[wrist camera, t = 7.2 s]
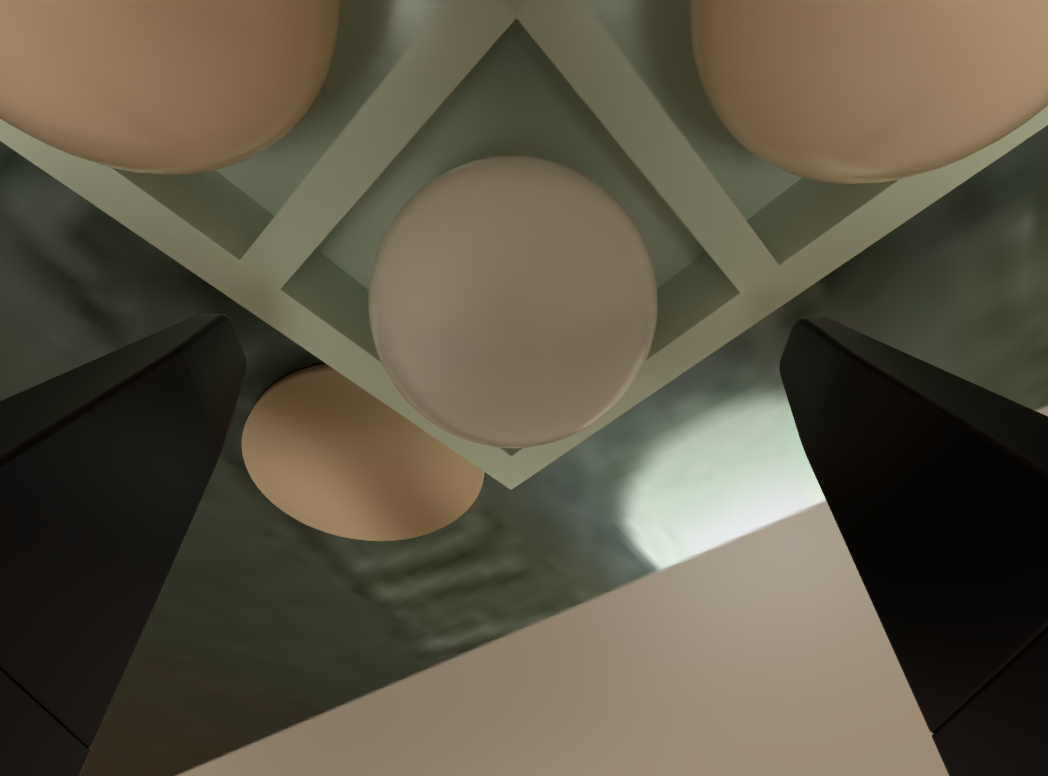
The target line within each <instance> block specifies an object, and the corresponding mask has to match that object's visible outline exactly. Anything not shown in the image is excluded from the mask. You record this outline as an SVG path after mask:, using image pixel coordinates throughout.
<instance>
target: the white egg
mask: <svg viewBox="0 0 1048 776" xmlns="http://www.w3.org/2000/svg"><path fill="white" fill-rule="evenodd" d="M368 305H369V319H370V327H371V331H372V336H373V340H374V343H375V346H376V350H377V353H378V355H379V357H380V360H381V362H382V365H383V367H384V369H385V370H386V372H387V374H388V375H389V377H390V379H391V381H392V382H393V384H394V385H395V387H396V388H397V389H398V391H399V392H400V393H401V395H402V396H403V397H404V398H405V400H406V401H407V402H408V403H409V404H410V405H411V406H412V407H413V408H414V409H416V410H417V411H418V412H419V413H420V414H421V415H423V416H424V417H425V418H426V419H428V420H429V421H430V422H432V423H433V424H435V425H436V426H438V427H439V428H441V429H443V430H444V431H446V432H449V433H451V434H453V435H455V436H457V437H460V438H463V439H465V440H468V441H471V442H474V443H478V444H482V445H487V446H493V447H500V448H527V447H534V446H541V445H545V444H549V443H553V442H556V441H559V440H562V439H564V438H567V437H569V436H572V435H574V434H576V433H578V432H580V431H582V430H584V429H586V428H587V427H589V426H591V425H592V424H594V423H595V422H597V421H598V420H599V419H601V418H602V417H603V416H604V415H606V414H607V413H608V412H609V411H610V410H611V409H612V408H613V407H614V406H615V405H616V404H617V403H618V402H619V401H620V400H621V399H622V398H623V397H624V395H625V394H626V393H627V392H628V390H629V389H630V388H631V386H632V385H633V383H634V382H635V380H636V378H637V376H638V375H639V373H640V371H641V369H642V367H643V366H644V363H645V361H646V359H647V356H648V354H649V351H650V348H651V344H652V340H653V337H654V332H655V328H656V321H657V312H658V302H657V282H656V277H655V271H654V266H653V263H652V260H651V257H650V254H649V251H648V249H647V246H646V243H645V240H644V239H643V237H642V235H641V233H640V231H639V229H638V227H637V226H636V224H635V223H634V221H633V220H632V218H631V217H630V216H629V214H628V213H627V212H626V210H625V209H624V208H623V206H622V205H621V204H620V203H619V202H618V201H617V200H616V199H615V198H614V197H613V196H612V195H611V194H610V193H609V192H608V191H607V190H606V189H604V188H603V187H602V186H600V185H599V184H598V183H596V182H595V181H593V180H592V179H590V178H589V177H587V176H585V175H584V174H582V173H580V172H578V171H576V170H574V169H572V168H570V167H568V166H565V165H562V164H560V163H557V162H554V161H551V160H546V159H541V158H537V157H530V156H517V155H510V156H494V157H489V158H484V159H479V160H475V161H472V162H469V163H466V164H463V165H460V166H457V167H455V168H453V169H451V170H449V171H447V172H445V173H443V174H441V175H440V176H438V177H437V178H435V179H434V180H433V181H431V182H430V183H428V184H427V185H425V186H424V187H423V188H421V189H420V190H419V191H418V192H417V193H416V194H415V195H414V196H413V197H411V198H410V199H409V200H408V201H407V202H406V203H405V205H404V206H403V207H402V208H401V210H400V211H399V212H398V214H397V215H396V216H395V218H394V219H393V221H392V222H391V224H390V226H389V228H388V229H387V231H386V233H385V235H384V236H383V238H382V240H381V243H380V245H379V248H378V250H377V253H376V256H375V259H374V264H373V268H372V273H371V277H370V282H369V296H368Z"/></svg>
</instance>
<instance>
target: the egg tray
mask: <svg viewBox="0 0 1048 776" xmlns="http://www.w3.org/2000/svg"><path fill="white" fill-rule="evenodd" d="M1047 125H1048V106H1047V107H1045V108H1044V109H1043V110H1042V111H1040V112H1039V113H1038V114H1037V115H1035V116H1034V117H1033V118H1031V119H1030V120H1029V121H1027V122H1026V123H1025V124H1023V125H1022V126H1020V127H1019V128H1017V129H1016V130H1014V131H1013V132H1011V133H1009V134H1008V135H1006V136H1005V137H1003V138H1002V139H1000V140H998V141H997V142H995V143H993V144H991V145H989V146H987V147H985V148H983V149H981V150H979V151H977V152H975V153H974V154H972V155H970V156H968V157H966V158H964V159H962V160H959V161H957V162H954V163H952V164H949V165H947V166H945V167H942V168H940V169H936V170H933V171H929V172H926V173H923V174H919V175H916V176H912V177H908V178H904V179H899V180H893V181H888V182H882V183H866V184H838V183H826V182H821V181H817V180H813V179H808V178H804V177H800V176H796V175H793V174H790V173H788V172H785V171H783V170H781V169H778V168H776V167H774V166H772V165H771V164H769V163H767V162H766V161H764V160H762V159H761V158H759V157H758V156H756V155H754V154H753V153H751V152H750V151H749V150H748V149H746V148H745V147H744V146H743V145H742V144H741V143H740V142H738V141H737V140H736V139H735V138H734V136H733V135H732V134H731V133H730V131H729V130H728V129H727V128H726V127H725V125H724V124H723V123H722V122H721V120H720V119H719V118H718V117H717V115H716V113H715V111H714V110H713V108H712V106H711V105H710V103H709V101H708V99H707V97H706V95H705V92H704V90H703V87H702V84H701V82H700V79H699V76H698V72H697V68H696V64H695V60H694V56H693V52H692V46H691V37H690V28H689V0H340V18H339V25H338V33H337V40H336V46H335V50H334V54H333V58H332V61H331V65H330V68H329V72H328V74H327V76H326V79H325V81H324V83H323V85H322V88H321V90H320V92H319V94H318V95H317V97H316V98H315V100H314V102H313V103H312V105H311V106H310V108H309V110H308V111H307V112H306V113H305V115H304V116H303V117H302V118H301V119H300V121H299V122H298V123H297V124H296V125H295V126H294V127H293V128H292V130H291V131H290V132H289V133H287V134H286V135H285V136H284V137H283V138H281V139H280V140H279V141H278V142H276V143H275V144H274V145H272V146H271V147H269V148H267V149H265V150H264V151H262V152H260V153H258V154H257V155H255V156H253V157H251V158H249V159H248V160H245V161H242V162H240V163H237V164H234V165H232V166H229V167H225V168H220V169H216V170H211V171H206V172H201V173H195V174H178V175H167V174H152V173H139V172H132V171H127V170H122V169H117V168H112V167H108V166H105V165H101V164H98V163H95V162H92V161H88V160H85V159H82V158H79V157H76V156H72V155H70V154H68V153H65V152H63V151H60V150H58V149H56V148H53V147H51V146H49V145H46V144H45V143H43V142H41V141H39V140H37V139H35V138H33V137H31V136H29V135H28V134H26V133H24V132H22V131H20V130H18V129H17V128H15V127H13V126H11V125H10V124H8V123H6V122H5V121H3V120H2V119H0V141H1V142H3V143H4V144H6V145H7V146H8V147H10V148H11V149H13V150H14V151H16V152H17V153H19V154H20V155H22V156H23V157H25V158H26V159H27V160H29V161H30V162H32V163H33V164H35V165H36V166H38V167H39V168H41V169H42V170H44V171H45V172H47V173H48V174H49V175H51V176H52V177H54V178H55V179H57V180H58V181H60V182H61V183H63V184H64V185H66V186H67V187H68V188H70V189H71V190H73V191H74V192H76V193H77V194H79V195H80V196H82V197H83V198H85V199H86V200H87V201H89V202H90V203H92V204H93V205H95V206H96V207H98V208H99V209H101V210H102V211H104V212H105V213H106V214H108V215H109V216H111V217H112V218H114V219H115V220H117V221H118V222H120V223H121V224H123V225H124V226H126V227H127V228H128V229H130V230H131V231H133V232H134V233H136V234H137V235H139V236H140V237H142V238H143V239H145V240H146V241H147V242H149V243H150V244H152V245H153V246H155V247H156V248H158V249H159V250H161V251H162V252H164V253H165V254H166V255H168V256H169V257H171V258H172V259H174V260H175V261H177V262H178V263H180V264H181V265H183V266H184V267H186V268H187V269H188V270H190V271H191V272H193V273H194V274H196V275H197V276H199V277H200V278H202V279H203V280H205V281H206V282H207V283H209V284H210V285H212V286H213V287H215V288H216V289H218V290H219V291H221V292H222V293H224V294H225V295H226V296H228V297H229V298H231V299H232V300H234V301H235V302H237V303H238V304H240V305H241V306H243V307H244V308H245V309H247V310H248V311H250V312H251V313H253V314H254V315H256V316H257V317H259V318H260V319H262V320H263V321H265V322H266V323H267V324H269V325H270V326H272V327H273V328H275V329H276V330H278V331H279V332H281V333H282V334H284V335H285V336H286V337H288V338H289V339H291V340H292V341H294V342H295V343H297V344H298V345H300V346H301V347H303V348H304V349H305V350H307V351H308V352H310V353H311V354H313V355H314V356H316V357H317V358H319V359H320V360H322V361H323V362H324V363H326V364H327V365H329V366H330V367H332V368H333V369H335V370H336V371H338V372H339V373H341V374H342V375H344V376H345V377H346V378H348V379H349V380H351V381H352V382H354V383H355V384H357V385H358V386H360V387H361V388H363V389H364V390H365V391H367V392H368V393H370V394H371V395H373V396H374V397H376V398H377V399H379V400H380V401H382V402H383V403H384V404H386V405H387V406H389V407H390V408H392V409H393V410H395V411H396V412H398V413H399V414H401V415H402V416H404V417H405V418H406V419H408V420H409V421H411V422H412V423H414V424H415V425H417V426H418V427H420V428H421V429H423V430H424V431H425V432H427V433H428V434H430V435H431V436H433V437H434V438H436V439H437V440H439V441H440V442H442V443H443V444H444V445H446V446H447V447H449V448H450V449H452V450H453V451H455V452H456V453H458V454H459V455H461V456H462V457H463V458H465V459H466V460H468V461H469V462H471V463H472V464H474V465H475V466H477V467H478V468H480V469H481V470H483V471H484V472H485V473H487V474H488V475H490V476H491V477H493V478H494V479H496V480H497V481H499V482H500V483H502V484H503V485H504V486H506V487H507V488H509V489H510V490H512V489H513V488H515V487H516V486H518V485H519V484H521V483H522V482H524V481H525V480H527V479H528V478H529V477H531V476H532V475H534V474H535V473H537V472H538V471H540V470H541V469H543V468H544V467H546V466H547V465H549V464H550V463H552V462H553V461H554V460H556V459H557V458H559V457H560V456H562V455H563V454H565V453H566V452H568V451H569V450H571V449H572V448H574V447H575V446H577V445H578V444H579V443H581V442H582V441H584V440H585V439H587V438H588V437H590V436H591V435H593V434H594V433H596V432H597V431H599V430H600V429H601V428H603V427H604V426H606V425H607V424H609V423H610V422H612V421H613V420H615V419H616V418H618V417H619V416H621V415H622V414H624V413H625V412H626V411H628V410H629V409H631V408H632V407H634V406H635V405H637V404H638V403H640V402H641V401H643V400H644V399H646V398H647V397H649V396H650V395H651V394H653V393H654V392H656V391H657V390H659V389H660V388H662V387H663V386H665V385H666V384H668V383H669V382H671V381H672V380H674V379H675V378H676V377H678V376H679V375H681V374H682V373H684V372H685V371H687V370H688V369H690V368H691V367H693V366H694V365H696V364H697V363H698V362H700V361H701V360H703V359H704V358H706V357H707V356H709V355H710V354H712V353H713V352H715V351H716V350H718V349H719V348H721V347H722V346H723V345H725V344H726V343H728V342H729V341H731V340H732V339H734V338H735V337H737V336H738V335H740V334H741V333H743V332H744V331H746V330H747V329H748V328H750V327H751V326H753V325H754V324H756V323H757V322H759V321H760V320H762V319H763V318H765V317H766V316H768V315H769V314H771V313H772V312H773V311H775V310H776V309H778V308H779V307H781V306H782V305H784V304H785V303H787V302H788V301H790V300H791V299H793V298H794V297H796V296H797V295H798V294H800V293H801V292H803V291H804V290H806V289H807V288H809V287H810V286H812V285H813V284H815V283H816V282H818V281H819V280H820V279H822V278H823V277H825V276H826V275H828V274H829V273H831V272H832V271H834V270H835V269H837V268H838V267H840V266H841V265H843V264H844V263H845V262H847V261H848V260H850V259H851V258H853V257H854V256H856V255H857V254H859V253H860V252H862V251H863V250H865V249H866V248H868V247H869V246H870V245H872V244H873V243H875V242H876V241H878V240H879V239H881V238H882V237H884V236H885V235H887V234H888V233H890V232H891V231H893V230H894V229H895V228H897V227H898V226H900V225H901V224H903V223H904V222H906V221H907V220H909V219H910V218H912V217H913V216H915V215H916V214H918V213H919V212H920V211H922V210H923V209H925V208H926V207H928V206H929V205H931V204H932V203H934V202H935V201H937V200H938V199H940V198H941V197H942V196H944V195H945V194H947V193H948V192H950V191H951V190H953V189H954V188H956V187H957V186H959V185H960V184H962V183H963V182H965V181H966V180H967V179H969V178H970V177H972V176H973V175H975V174H976V173H978V172H979V171H981V170H982V169H984V168H985V167H987V166H988V165H990V164H991V163H992V162H994V161H995V160H997V159H998V158H1000V157H1001V156H1003V155H1004V154H1006V153H1007V152H1009V151H1010V150H1012V149H1013V148H1015V147H1016V146H1017V145H1019V144H1020V143H1022V142H1023V141H1025V140H1026V139H1028V138H1029V137H1031V136H1032V135H1034V134H1035V133H1037V132H1038V131H1040V130H1041V129H1042V128H1044V127H1045V126H1047ZM510 155H517V156H530V157H537V158H541V159H546V160H551V161H554V162H557V163H560V164H562V165H565V166H568V167H570V168H572V169H574V170H576V171H578V172H580V173H582V174H584V175H585V176H587V177H589V178H590V179H592V180H593V181H595V182H596V183H598V184H599V185H600V186H602V187H603V188H604V189H606V190H607V191H608V192H609V193H610V194H611V195H612V196H613V197H614V198H615V199H616V200H617V201H618V202H619V203H620V204H621V205H622V206H623V208H624V209H625V210H626V212H627V213H628V214H629V216H630V217H631V218H632V220H633V221H634V223H635V224H636V226H637V227H638V229H639V231H640V233H641V235H642V237H643V239H644V240H645V243H646V246H647V249H648V251H649V254H650V257H651V260H652V263H653V266H654V271H655V277H656V282H657V302H658V312H657V321H656V328H655V332H654V337H653V340H652V344H651V348H650V351H649V354H648V356H647V359H646V361H645V363H644V366H643V367H642V369H641V371H640V373H639V375H638V376H637V378H636V380H635V382H634V383H633V385H632V386H631V388H630V389H629V390H628V392H627V393H626V394H625V395H624V397H623V398H622V399H621V400H620V401H619V402H618V403H617V404H616V405H615V406H614V407H613V408H612V409H611V410H610V411H609V412H608V413H607V414H606V415H604V416H603V417H602V418H601V419H599V420H598V421H597V422H595V423H594V424H592V425H591V426H589V427H587V428H586V429H584V430H582V431H580V432H578V433H576V434H574V435H572V436H569V437H567V438H564V439H562V440H559V441H556V442H553V443H549V444H545V445H541V446H534V447H527V448H500V447H493V446H487V445H482V444H478V443H474V442H471V441H468V440H465V439H463V438H460V437H457V436H455V435H453V434H451V433H449V432H446V431H444V430H443V429H441V428H439V427H438V426H436V425H435V424H433V423H432V422H430V421H429V420H428V419H426V418H425V417H424V416H423V415H421V414H420V413H419V412H418V411H417V410H416V409H414V408H413V407H412V406H411V405H410V404H409V403H408V402H407V401H406V400H405V398H404V397H403V396H402V395H401V393H400V392H399V391H398V389H397V388H396V387H395V385H394V384H393V382H392V381H391V379H390V377H389V375H388V374H387V372H386V370H385V369H384V367H383V365H382V362H381V360H380V357H379V355H378V353H377V350H376V346H375V343H374V340H373V336H372V331H371V327H370V319H369V305H368V296H369V282H370V277H371V273H372V268H373V264H374V259H375V256H376V253H377V250H378V248H379V245H380V243H381V240H382V238H383V236H384V235H385V233H386V231H387V229H388V228H389V226H390V224H391V222H392V221H393V219H394V218H395V216H396V215H397V214H398V212H399V211H400V210H401V208H402V207H403V206H404V205H405V203H406V202H407V201H408V200H409V199H410V198H411V197H413V196H414V195H415V194H416V193H417V192H418V191H419V190H420V189H421V188H423V187H424V186H425V185H427V184H428V183H430V182H431V181H433V180H434V179H435V178H437V177H438V176H440V175H441V174H443V173H445V172H447V171H449V170H451V169H453V168H455V167H457V166H460V165H463V164H466V163H469V162H472V161H475V160H479V159H484V158H489V157H494V156H510Z"/></svg>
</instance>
